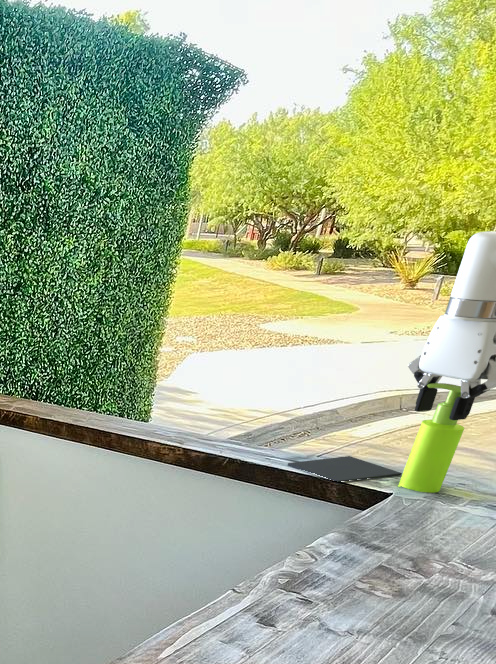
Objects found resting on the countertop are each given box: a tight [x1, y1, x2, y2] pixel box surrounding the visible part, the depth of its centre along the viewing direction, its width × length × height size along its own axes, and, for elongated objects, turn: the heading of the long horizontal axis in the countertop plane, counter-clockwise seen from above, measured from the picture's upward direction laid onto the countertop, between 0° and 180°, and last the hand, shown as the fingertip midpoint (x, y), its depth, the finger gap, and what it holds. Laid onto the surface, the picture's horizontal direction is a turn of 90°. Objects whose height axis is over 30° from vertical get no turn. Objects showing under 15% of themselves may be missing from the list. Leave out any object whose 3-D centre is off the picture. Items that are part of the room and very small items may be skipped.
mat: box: [287, 455, 403, 482], centre depth 152 cm, size 16×11×1 cm
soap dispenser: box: [397, 382, 465, 494], centre depth 136 cm, size 6×7×20 cm
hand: (439, 413), depth 135 cm, fingers closed on soap dispenser, 5 cm apart
